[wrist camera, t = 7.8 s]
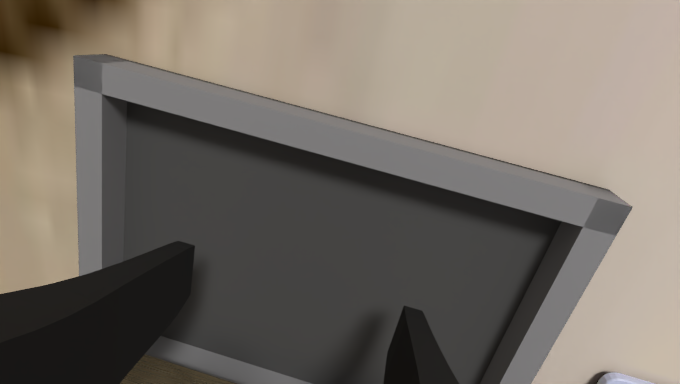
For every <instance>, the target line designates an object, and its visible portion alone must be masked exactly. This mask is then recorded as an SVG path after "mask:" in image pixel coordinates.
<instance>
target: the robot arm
mask: <svg viewBox="0 0 680 384" xmlns="http://www.w3.org/2000/svg"><path fill="white" fill-rule="evenodd" d="M194 252H195V245H191V244H188V243H185V242H181V241H176V242H173V243H170V244H167V245H164V246H162V247H159V248H157V249H154V250H152V251H149V252H147V253H144V254H141V255H139V256H136V257H134V258H131V259H128V260H126V261H123V262H121V263H118V264H115V265H112V266H109V267H106V268H103V269H100V270H97V271H94V272H91V273H88V274H85V275H82V276H79V277H75V278H72V279H68V280H64V281H60V282H56V283H53V284H48V285H44V286H39V287H34V288H29V289H24V290H19V291H15V292H10V293H4V294H0V384H120V383H121V382H122V380H123V379H124V378H125V377H126V375H127V374H128V373H129V372H130V371H131V369H132V368H133V367H134V366H135V365H136V364H137V362H138V361H139V360H140V359H141V358H142V357H143V356H144V354H145V353H146V352H147V351H148V350H149V349H150V347H151V346H152V345H153V344H154V343H155V342H156V341H157V339H158V338H159V337H160V336H161V335H162V334H163V332H164V331H165V330H166V329H167V328H168V327H169V325H170V324H171V323H172V322H173V321H174V319H175V318H176V316H177V315H178V313H179V312H180V310H181V309H182V307H183V306H184V304H185V303H186V301H187V299H188V298H189V296H190V295H191V284H192V274H193V263H194ZM383 384H459V382H458V381H457V379H456V377H455V376H454V374H453V372H452V370H451V368H450V367H449V365H448V363H447V361H446V359H445V357H444V355H443V353H442V351H441V349H440V347H439V345H438V343H437V341H436V339H435V337H434V335H433V333H432V330H431V328H430V326H429V324H428V321H427V319H426V317H425V315H424V313H423V311H422V310H418V309H415V308H411V307H408V306H404V307H403V310H402V312H401V315H400V318H399V321H398V324H397V327H396V329H395V332H394V335H393V338H392V341H391V344H390V347H389V349H388V352H387V359H386V366H385V374H384V382H383ZM597 384H655V383H651V382H648V381H644V380H641V379H638V378H634V377H631V376H628V375H624V374H621V373H616V372H612V373H607V374H605V375H603V376H602V377H601V378H600V379H599V381H598V382H597Z"/></svg>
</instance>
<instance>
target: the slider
mask: <svg viewBox="0 0 680 384" xmlns="http://www.w3.org/2000/svg"><path fill="white" fill-rule="evenodd" d="M120 384H236V383H233V382H230V381H227V380H224V379H221V378H218V377H214V376H211V375H208V374H205V373H202V372H199V371H196V370H192V369H189V368H186V367H183V366H180V365H177V364H174V363H171V362H167V361H164V360H161V359H158V358H155V357H152V356H149V355H146V354H144V356H143V357H142V358H141V359H140V360H139V361H138V362H137V364H136V365H135V366H134V367H133V368H132V369H131V371H130V372H129V373H128V374H127V375H126V377H125V378H124V379H123V380H122V382H121V383H120Z"/></svg>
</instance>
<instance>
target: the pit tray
mask: <svg viewBox="0 0 680 384" xmlns="http://www.w3.org/2000/svg"><path fill="white" fill-rule="evenodd" d="M73 58H74V96H75V134H76V172H77V209H78V247H79V276H82V275H85V274H88V273H91V272H94V271H97V270H100V269H103V268H106V267H109V266H112V265H115V264H118V263H121V262H123V261H126V260H128V259H131V258H134V257H136V256H139V255H141V254H144V253H147V252H149V251H152V250H154V249H157V248H159V247H162V246H164V245H167V244H170V243H173V242H176V241H181V242H185V243H188V244H191V245H195V252H194V263H193V274H192V284H191V295H190V296H189V298H188V299H187V301H186V303H185V304H184V306H183V307H182V309H181V310H180V312H179V313H178V315H177V316H176V318H175V319H174V321H173V322H172V323H171V324H170V325H169V327H168V328H167V329H166V330H165V331H164V332H163V334H162V335H161V336H160V337H159V338H158V339H157V341H156V342H155V343H154V344H153V345H152V346H151V347H150V349H149V350H148V351H147V352H146V353H145V354H146V355H149V356H152V357H155V358H158V359H161V360H164V361H167V362H171V363H174V364H177V365H180V366H183V367H186V368H189V369H192V370H196V371H199V372H202V373H205V374H208V375H211V376H214V377H218V378H221V379H224V380H227V381H230V382H233V383H236V384H383V382H384V374H385V366H386V359H387V352H388V349H389V347H390V344H391V341H392V338H393V335H394V332H395V329H396V327H397V324H398V321H399V318H400V315H401V312H402V310H403V307H404V306H408V307H411V308H415V309H418V310H422V311H423V313H424V315H425V317H426V319H427V321H428V324H429V326H430V328H431V330H432V333H433V335H434V337H435V339H436V341H437V343H438V345H439V347H440V349H441V351H442V353H443V355H444V357H445V359H446V361H447V363H448V365H449V367H450V368H451V370H452V372H453V374H454V376H455V377H456V379H457V381H458V382H459V384H531V383H532V381H533V379H534V378H535V376H536V374H537V372H538V371H539V369H540V367H541V366H542V364H543V362H544V360H545V359H546V357H547V355H548V353H549V352H550V350H551V348H552V346H553V345H554V343H555V341H556V339H557V338H558V336H559V334H560V332H561V331H562V329H563V327H564V326H565V324H566V322H567V320H568V319H569V317H570V315H571V313H572V312H573V310H574V308H575V306H576V305H577V303H578V301H579V299H580V298H581V296H582V294H583V293H584V291H585V289H586V287H587V286H588V284H589V282H590V280H591V279H592V277H593V275H594V273H595V272H596V270H597V268H598V266H599V265H600V263H601V261H602V259H603V258H604V256H605V254H606V253H607V251H608V249H609V247H610V246H611V244H612V242H613V240H614V239H615V237H616V235H617V233H618V232H619V230H620V228H621V226H622V225H623V223H624V221H625V219H626V218H627V216H628V214H629V213H630V211H631V209H632V206H630V205H629V204H628V203H626V202H625V201H624V200H622V199H621V198H619V197H618V196H617V195H615V194H614V193H613V192H611V191H610V190H608V189H604V188H601V187H597V186H593V185H590V184H586V183H582V182H578V181H575V180H571V179H567V178H564V177H560V176H556V175H552V174H549V173H545V172H541V171H538V170H534V169H530V168H526V167H523V166H519V165H515V164H512V163H508V162H504V161H500V160H497V159H493V158H489V157H486V156H482V155H478V154H474V153H471V152H467V151H463V150H460V149H456V148H452V147H448V146H445V145H441V144H437V143H434V142H430V141H426V140H422V139H419V138H415V137H411V136H408V135H404V134H400V133H396V132H393V131H389V130H385V129H382V128H378V127H374V126H371V125H367V124H363V123H359V122H356V121H352V120H348V119H345V118H341V117H337V116H333V115H330V114H326V113H322V112H319V111H315V110H311V109H307V108H304V107H300V106H296V105H293V104H289V103H285V102H281V101H278V100H274V99H270V98H267V97H263V96H259V95H255V94H252V93H248V92H244V91H241V90H237V89H233V88H229V87H226V86H222V85H218V84H215V83H211V82H207V81H203V80H200V79H196V78H192V77H189V76H185V75H181V74H177V73H174V72H170V71H166V70H163V69H159V68H155V67H152V66H148V65H144V64H140V63H137V62H133V61H129V60H126V59H122V58H118V57H114V56H111V55H107V54H100V55H75V56H73Z"/></svg>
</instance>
